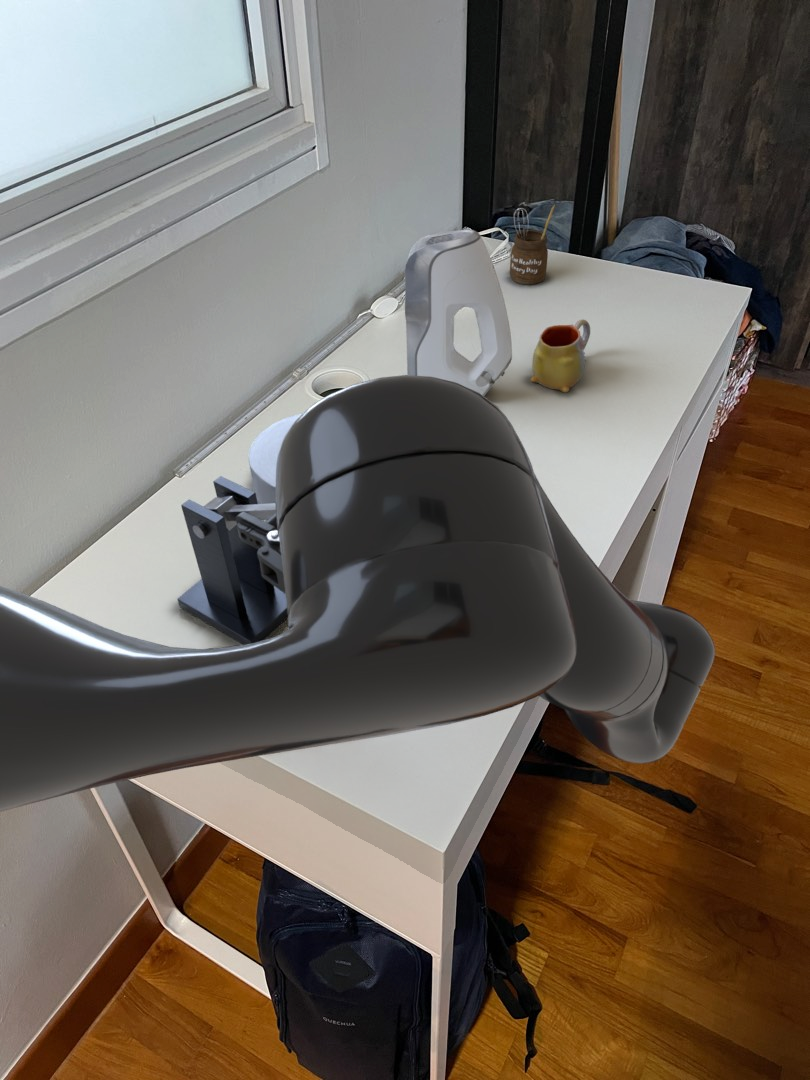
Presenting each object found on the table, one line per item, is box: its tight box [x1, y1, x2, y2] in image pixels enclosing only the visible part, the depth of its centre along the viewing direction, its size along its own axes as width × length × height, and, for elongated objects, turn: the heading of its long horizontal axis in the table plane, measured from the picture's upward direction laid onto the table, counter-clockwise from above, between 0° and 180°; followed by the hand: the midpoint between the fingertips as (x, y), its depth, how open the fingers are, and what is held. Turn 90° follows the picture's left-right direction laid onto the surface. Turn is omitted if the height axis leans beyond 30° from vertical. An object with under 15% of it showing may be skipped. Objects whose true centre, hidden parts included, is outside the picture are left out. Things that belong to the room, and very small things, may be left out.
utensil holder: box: [509, 204, 556, 286], centre depth 130 cm, size 6×6×12 cm
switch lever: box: [202, 496, 277, 531], centre depth 71 cm, size 12×6×2 cm, turn 54°
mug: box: [530, 319, 591, 393], centre depth 111 cm, size 12×7×7 cm, turn 141°
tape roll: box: [248, 412, 304, 504], centre depth 95 cm, size 15×15×5 cm
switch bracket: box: [177, 475, 288, 645], centre depth 78 cm, size 10×8×14 cm
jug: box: [404, 229, 513, 397], centre depth 102 cm, size 13×5×22 cm, turn 83°
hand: (267, 500), depth 68 cm, fingers closed on switch lever, 6 cm apart
